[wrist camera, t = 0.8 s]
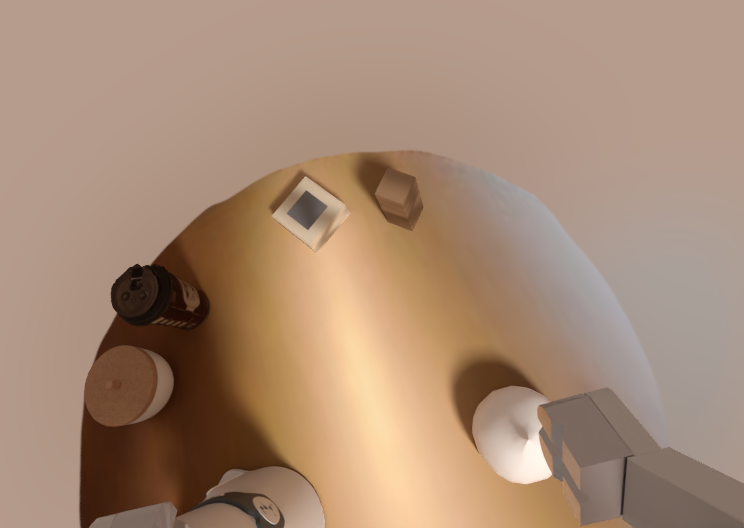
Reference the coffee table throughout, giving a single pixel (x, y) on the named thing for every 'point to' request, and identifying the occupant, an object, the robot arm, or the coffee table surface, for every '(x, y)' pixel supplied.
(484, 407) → the teardrop
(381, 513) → the coffee table surface
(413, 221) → the walnut pillar
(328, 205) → the birch plinth
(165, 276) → the coffee cup
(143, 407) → the lidded jar
